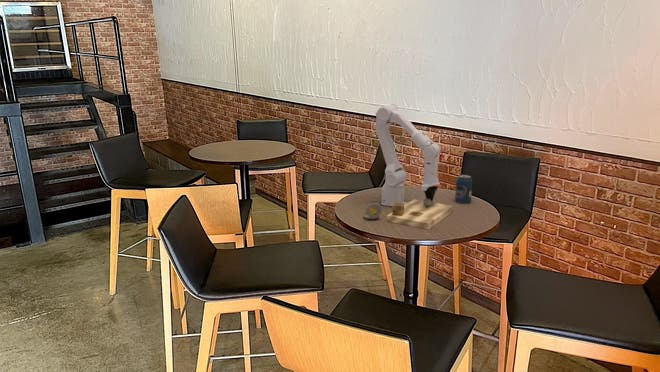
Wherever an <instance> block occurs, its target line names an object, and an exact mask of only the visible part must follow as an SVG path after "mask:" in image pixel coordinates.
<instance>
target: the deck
mask: <svg viewBox="0 0 660 372" xmlns="http://www.w3.org/2000/svg"><path fill="white" fill-rule="evenodd" d="M423 202H424V200H420V199H414V198H413V199H412V200H411V201H409V202H407V204H405V205H404V214H403V215H402V216H397V215H392V212H391V213H389V214H388V215H386V221H387V222H389V223H394V224H398V225H404V226H409V227H412V228H413V227H414V228H419V229H425V230H428V231H429V230H430V229H431V228H433V227H434V226H435V225H437V224H439V222H441V221H442V220H444V218H445V219H446V217H447V216H448V215H450V214H451V213H453V209H454V206H453V205H451V204H450V205H448V204H444V203H443V204H442V203H436V202H432V204H431V205H430V206H429V207H426V206H425V205H424V204H423Z"/></svg>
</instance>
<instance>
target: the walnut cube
mask: <svg viewBox="0 0 660 372" xmlns="http://www.w3.org/2000/svg"><path fill="white" fill-rule="evenodd" d="M391 213H392V215H397V216H402V215H403V214H404V204H403V203H394V204H393V207H392V212H391Z"/></svg>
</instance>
